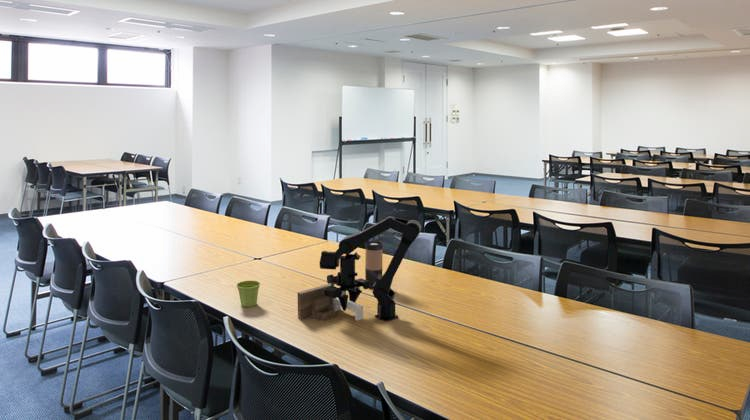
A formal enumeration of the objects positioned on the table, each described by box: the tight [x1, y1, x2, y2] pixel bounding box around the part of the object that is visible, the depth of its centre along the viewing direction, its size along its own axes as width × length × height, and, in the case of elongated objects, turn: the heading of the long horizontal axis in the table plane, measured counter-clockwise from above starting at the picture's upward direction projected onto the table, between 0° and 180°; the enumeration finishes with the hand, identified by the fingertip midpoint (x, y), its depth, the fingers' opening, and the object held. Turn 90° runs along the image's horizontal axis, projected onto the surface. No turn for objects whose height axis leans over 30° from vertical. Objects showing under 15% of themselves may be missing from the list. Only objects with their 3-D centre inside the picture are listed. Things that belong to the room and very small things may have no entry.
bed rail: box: [333, 298, 364, 321], centre depth 198 cm, size 14×3×5 cm, turn 44°
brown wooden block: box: [297, 283, 336, 322], centre depth 196 cm, size 8×16×10 cm, turn 134°
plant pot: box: [235, 280, 261, 308], centre depth 208 cm, size 9×9×9 cm
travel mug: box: [364, 240, 383, 290], centre depth 231 cm, size 8×8×20 cm
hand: (347, 309), depth 198 cm, fingers closed on bed rail, 3 cm apart
